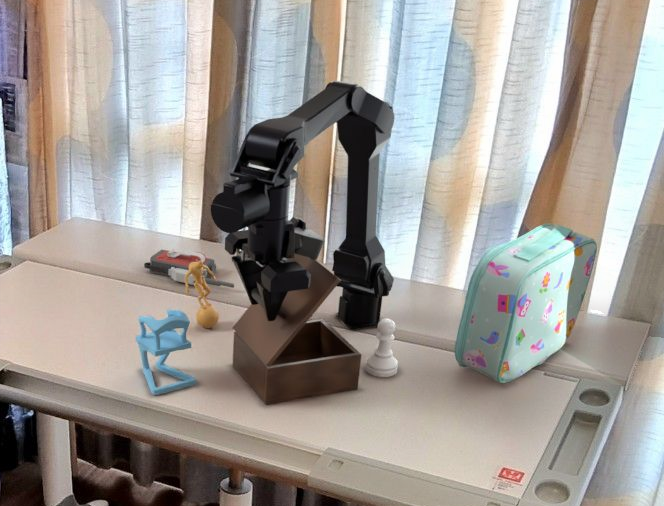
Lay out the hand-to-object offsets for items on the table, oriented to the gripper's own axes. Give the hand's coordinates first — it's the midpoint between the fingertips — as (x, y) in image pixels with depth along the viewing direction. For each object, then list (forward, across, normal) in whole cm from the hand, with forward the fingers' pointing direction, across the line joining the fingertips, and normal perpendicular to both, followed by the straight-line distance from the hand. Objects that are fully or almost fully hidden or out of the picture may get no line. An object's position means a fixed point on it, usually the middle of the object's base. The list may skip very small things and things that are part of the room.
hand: (263, 312), depth 159 cm
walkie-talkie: (+12, +44, -5) cm, 46 cm away
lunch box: (+13, -5, -43) cm, 45 cm away
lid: (0, 0, -4) cm, 4 cm away
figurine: (+12, +23, +1) cm, 26 cm away
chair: (+12, +6, +14) cm, 20 cm away
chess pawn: (+12, -2, -20) cm, 24 cm away
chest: (+12, 0, -6) cm, 14 cm away
